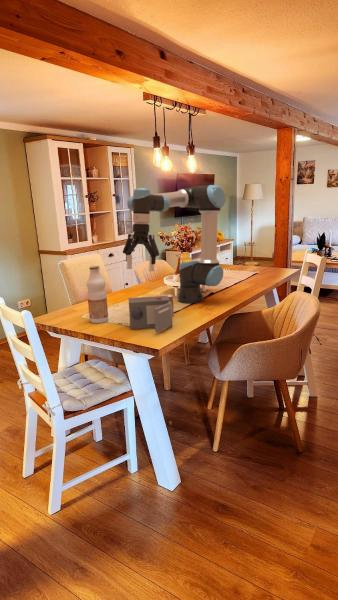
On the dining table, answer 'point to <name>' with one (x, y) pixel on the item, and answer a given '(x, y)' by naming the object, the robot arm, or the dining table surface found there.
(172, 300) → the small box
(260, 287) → the dining table surface
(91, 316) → the fruit juice
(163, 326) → the side door
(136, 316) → the camera block
